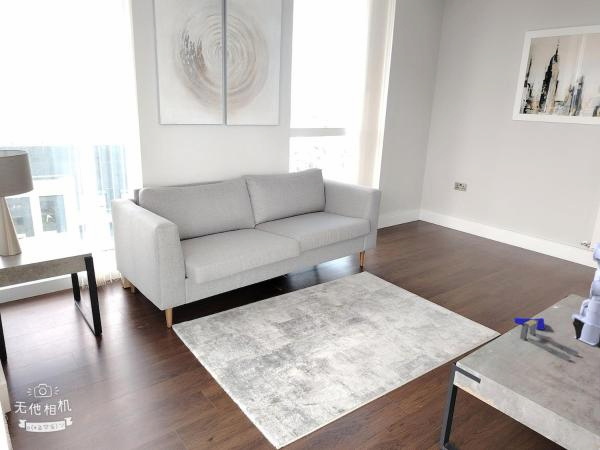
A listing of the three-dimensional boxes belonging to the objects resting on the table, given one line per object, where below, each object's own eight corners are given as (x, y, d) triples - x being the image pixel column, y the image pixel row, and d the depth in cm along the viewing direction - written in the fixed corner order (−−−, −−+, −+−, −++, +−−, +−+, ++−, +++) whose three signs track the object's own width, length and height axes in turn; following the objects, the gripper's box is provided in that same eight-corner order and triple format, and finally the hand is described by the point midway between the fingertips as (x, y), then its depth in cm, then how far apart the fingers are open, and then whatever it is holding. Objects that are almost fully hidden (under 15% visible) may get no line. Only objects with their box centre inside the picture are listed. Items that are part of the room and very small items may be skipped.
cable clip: (544, 329, 191) (544, 328, 196) (543, 319, 192) (543, 318, 197) (515, 328, 197) (515, 326, 202) (514, 318, 198) (515, 317, 203)
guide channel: (536, 337, 187) (537, 333, 187) (577, 356, 174) (578, 351, 173) (527, 342, 183) (527, 338, 183) (568, 361, 169) (569, 357, 169)
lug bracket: (530, 334, 190) (533, 318, 188) (534, 336, 188) (538, 320, 186) (519, 339, 185) (522, 323, 183) (524, 341, 183) (527, 325, 181)
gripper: (570, 306, 166) (564, 337, 170) (613, 321, 155) (604, 354, 158) (579, 302, 170) (572, 332, 173) (621, 317, 158) (612, 349, 162)
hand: (588, 342), depth 166 cm, fingers open, 7 cm apart
